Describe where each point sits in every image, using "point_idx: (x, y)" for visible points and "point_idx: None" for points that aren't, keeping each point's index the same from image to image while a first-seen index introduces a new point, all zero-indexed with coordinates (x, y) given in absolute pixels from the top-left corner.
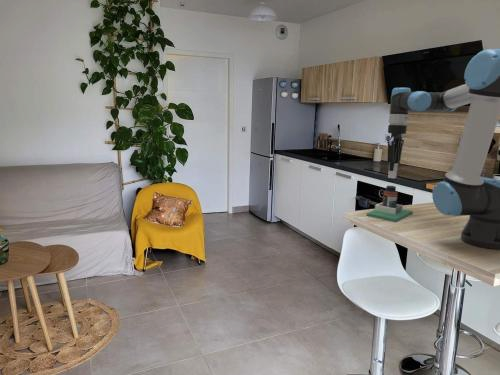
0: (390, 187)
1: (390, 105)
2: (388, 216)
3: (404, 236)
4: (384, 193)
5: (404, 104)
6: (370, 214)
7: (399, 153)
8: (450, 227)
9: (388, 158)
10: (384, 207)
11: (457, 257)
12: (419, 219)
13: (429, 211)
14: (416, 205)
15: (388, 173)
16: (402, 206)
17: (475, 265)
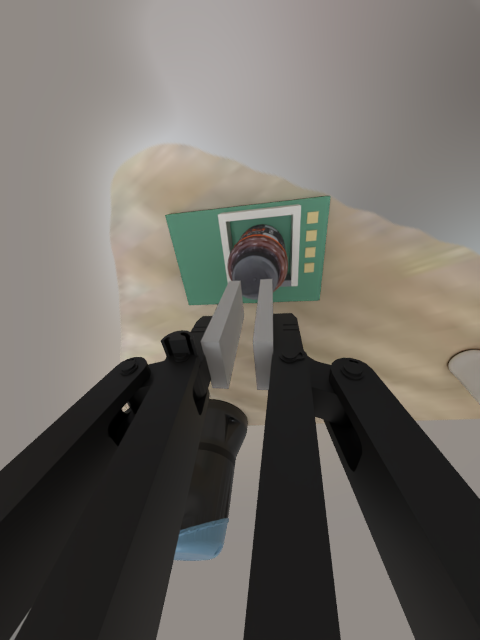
0: None
1: None
2: (195, 280)
3: (126, 346)
4: (232, 249)
5: None
6: (170, 229)
7: (375, 525)
8: (255, 381)
9: (93, 401)
10: (223, 252)
11: (126, 406)
12: None
13: (383, 320)
14: (467, 262)
15: (224, 294)
16: (294, 284)
17: None
